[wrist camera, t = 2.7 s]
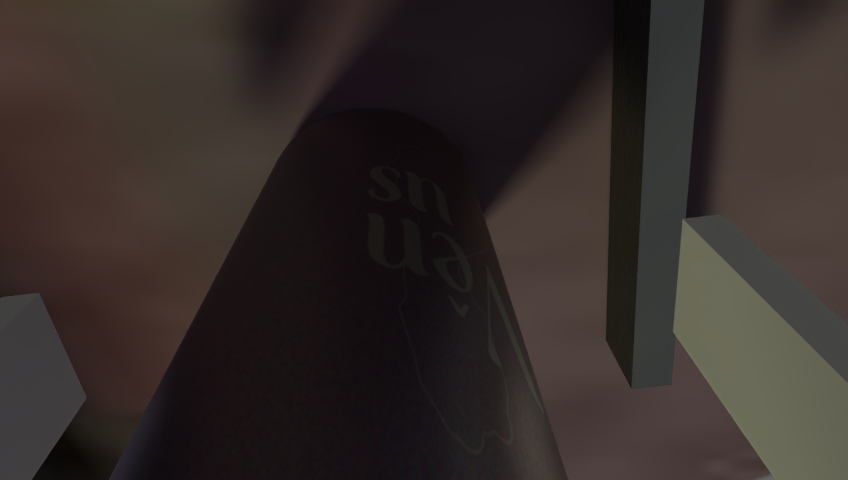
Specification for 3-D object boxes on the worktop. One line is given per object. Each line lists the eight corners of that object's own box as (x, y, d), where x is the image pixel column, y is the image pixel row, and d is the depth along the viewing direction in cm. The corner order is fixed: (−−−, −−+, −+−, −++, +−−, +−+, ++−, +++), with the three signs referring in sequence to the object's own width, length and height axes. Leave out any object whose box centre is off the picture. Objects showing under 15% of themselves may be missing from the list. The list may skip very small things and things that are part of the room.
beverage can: (237, 234, 19) (-181, 1021, 5) (331, 60, 16) (39, 620, 3) (407, 317, 20) (433, 1087, 7) (513, 169, 18) (863, 857, 5)
